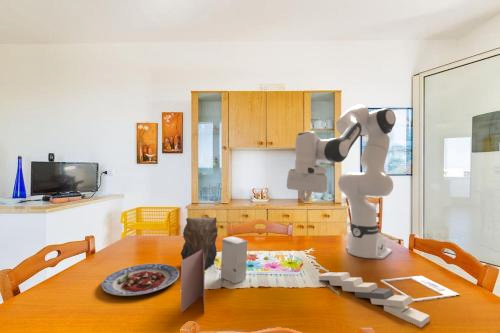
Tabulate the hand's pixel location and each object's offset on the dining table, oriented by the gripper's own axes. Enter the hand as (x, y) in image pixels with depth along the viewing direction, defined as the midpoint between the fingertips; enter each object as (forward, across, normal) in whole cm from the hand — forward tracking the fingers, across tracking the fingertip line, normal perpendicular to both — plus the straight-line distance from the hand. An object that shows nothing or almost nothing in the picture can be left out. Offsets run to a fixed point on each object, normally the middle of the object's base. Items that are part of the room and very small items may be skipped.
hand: (305, 201), depth 111 cm
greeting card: (+27, +4, -50) cm, 57 cm away
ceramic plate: (+28, -22, -61) cm, 70 cm away
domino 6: (+26, +37, -4) cm, 46 cm away
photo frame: (+28, +37, +17) cm, 49 cm away
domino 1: (+26, +13, -4) cm, 30 cm away
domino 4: (+26, +28, -4) cm, 39 cm away
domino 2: (+26, +18, -4) cm, 32 cm away
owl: (+27, -24, -38) cm, 53 cm away
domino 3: (+26, +23, -4) cm, 35 cm away
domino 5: (+26, +33, -4) cm, 43 cm away
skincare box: (+27, -6, -32) cm, 42 cm away
